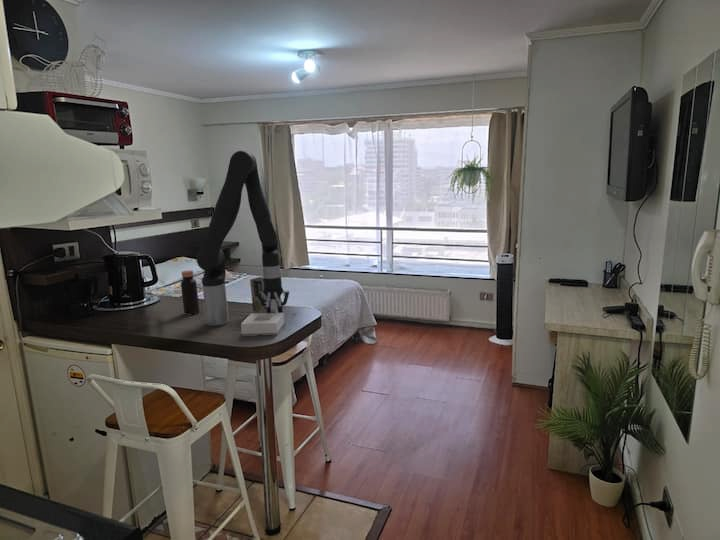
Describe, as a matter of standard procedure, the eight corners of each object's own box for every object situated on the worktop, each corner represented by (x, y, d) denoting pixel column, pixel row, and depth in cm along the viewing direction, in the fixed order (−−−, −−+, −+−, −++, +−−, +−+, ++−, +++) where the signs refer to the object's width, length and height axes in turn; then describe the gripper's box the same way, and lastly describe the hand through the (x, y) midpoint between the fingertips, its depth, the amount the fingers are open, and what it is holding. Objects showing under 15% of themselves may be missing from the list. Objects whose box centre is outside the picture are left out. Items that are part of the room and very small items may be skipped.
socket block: (242, 336, 181) (240, 324, 180) (251, 324, 195) (250, 313, 194) (277, 335, 181) (276, 323, 180) (284, 324, 194) (283, 312, 193)
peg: (269, 322, 198) (268, 299, 196) (272, 319, 202) (270, 297, 200) (279, 322, 197) (277, 299, 196) (281, 319, 201) (279, 296, 199)
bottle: (181, 314, 216) (176, 272, 212) (193, 310, 221) (189, 269, 217) (190, 316, 212) (185, 273, 208) (202, 312, 217) (198, 270, 213)
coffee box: (276, 313, 211) (273, 278, 208) (264, 316, 206) (261, 281, 203) (264, 309, 217) (261, 276, 214) (252, 313, 213) (249, 278, 209)
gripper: (253, 278, 192) (256, 317, 196) (286, 277, 192) (289, 317, 195) (257, 274, 200) (261, 312, 203) (290, 273, 199) (293, 311, 202)
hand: (275, 314), depth 199 cm, fingers closed on peg, 4 cm apart
